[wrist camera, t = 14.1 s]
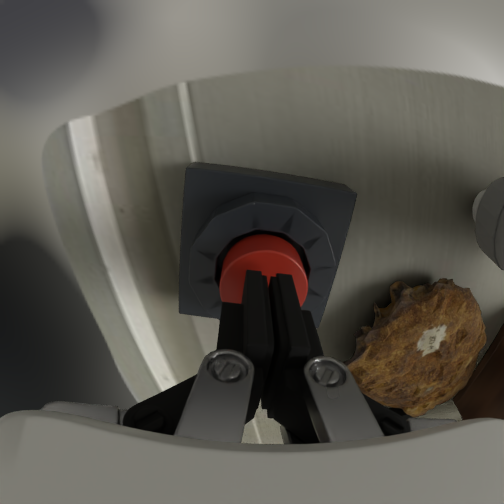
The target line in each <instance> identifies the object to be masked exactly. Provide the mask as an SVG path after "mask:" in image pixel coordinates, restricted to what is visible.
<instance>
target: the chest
mask: <svg viewBox="0 0 504 504" xmlns="http://www.w3.org/2000/svg"><path fill="white" fill-rule="evenodd" d="M453 401H454V403H455V405H456V407H457V409H458V411H459V413H460V415H461V417H462V419H463V420H468V419H476V418H496V419H502V420H504V324H503V326H502V328H501V329H500V331H499V333H498V335H497V336H496V338H495V340H494V341H493V343H492V345H491V346H490V348H489V349H488V351H487V352H486V354H485V356H484V357H483V359H482V360H481V362H480V363H479V365H478V366H477V368H476V369H475V370H474V372H473V373H472V375H471V377H470V378H469V380H468V382H467V385H466V386H465V387H464V388H463V389H461V390H460V391H459V392H458V393H457V395H456V396H455V397H454V398H453Z"/></svg>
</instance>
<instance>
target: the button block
mask: <svg viewBox="0 0 504 504" xmlns="http://www.w3.org/2000/svg"><path fill="white" fill-rule="evenodd" d="M356 197H357V193H356V192H354V191H353V190H352V189H350V188H349V187H347V186H346V185H344V184H339V183H334V182H329V181H324V180H318V179H313V178H307V177H302V176H296V175H290V174H284V173H277V172H271V171H264V170H257V169H250V168H243V167H235V166H227V165H218V164H209V163H199V162H193V163H192V164H191V165H189V166H188V167H187V168H186V173H185V185H184V197H183V211H182V227H181V246H180V272H179V313H180V314H187V315H194V316H201V317H209V318H217V319H219V320H220V316H221V308H222V300H221V297H220V291H219V284H220V278H221V272H222V266H223V261H224V259H225V256H226V254H227V253H228V251H229V250H230V249H231V248H232V247H233V245H235V244H236V243H237V242H239V241H240V240H242V239H244V238H246V237H249V236H252V235H258V234H267V235H273V236H277V237H280V238H282V239H284V240H286V241H287V242H289V243H290V244H291V245H292V246H293V247H294V248H295V249H296V251H297V252H298V254H299V256H300V259H301V262H302V264H303V267H304V270H305V273H306V276H307V280H308V292H307V296H306V299H305V301H304V303H303V305H302V306H301V310H309V311H310V312H311V314H312V317H313V320H314V324H315V327H316V328H318V327H319V324H320V321H321V318H322V316H323V313H324V310H325V306H326V303H327V300H328V297H329V294H330V291H331V288H332V285H333V281H334V278H335V275H336V271H337V268H338V265H339V261H340V258H341V254H342V251H343V247H344V244H345V240H346V236H347V232H348V229H349V225H350V221H351V217H352V213H353V209H354V205H355V201H356Z"/></svg>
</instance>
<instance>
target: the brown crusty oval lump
mask: <svg viewBox="0 0 504 504" xmlns="http://www.w3.org/2000/svg"><path fill="white" fill-rule="evenodd" d="M390 295H391V300H392V303H391V304H389V305H388V306H387V307H386V308H378V307H377V305H376V304H375V303H374V312H375V322H374V325H373V328H371V327H370V326H369V325H367V326H366V327H361V330H358V331H357V332H356V333H355V334H354V336H355V337H356V338H357V340H356V351H355V352H354V355H353V357H352V358H351V359H350V360H348V361H345V362H343V363H344V364H345V365H346V366H347V367H348V369H349V370H350V372H351V374H352V375H353V377H354V379H355V381H356V383H357V385H358V387H359V388H360V390H361V392H362V393H363V394H365V395H366V396H368V397H370V398H371V399H373V400H375V401H376V402H378V403H380V404H382V405H385V406H389V407H393V408H401V409H403V411H404V412H405V413H406V414H408V415H410V416H412V417H415V418H416V417H418V416H421V415H424V414H425V413H426V412H427V411H428V410H430V409H433V408H434V407H435V405H439V404H442V403H444V402H446V401H448V400H450V399H451V398H452V397H453V396H454V395H455V394H456V393H457V392H458V391H459V390H461V389H463V388H464V387H465V386H466V385H467V382H468V380H469V378H470V377H471V375H472V373H473V370H474V368H475V366H476V360H477V358H478V354H479V351H480V350H481V349H482V348H483V347H484V345H485V343H486V341H487V336H486V334H485V329H486V327H485V325H484V323H483V320H482V317H481V310H480V308H479V305H478V303H477V301H476V300H475V298H474V296H473V294H472V292H471V290H470V289H469V288H462V287H459V286H457V285H455V284H454V282H453V279H450V280H447V279H446V278H442V279H440V280H439V281H438V282H434V283H433V284H432V285H431V284H429V283H426V284H424V285H421V286H420V285H417V286H415V287H414V288H411V287H409V286H407V285H406V284H405V283H404V282H403V281H396V282H395V283H394V284H392V285H391V286H390Z"/></svg>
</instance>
